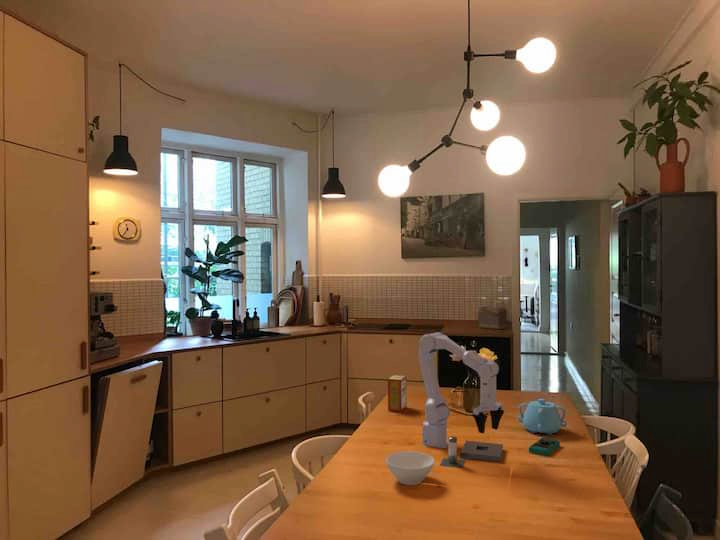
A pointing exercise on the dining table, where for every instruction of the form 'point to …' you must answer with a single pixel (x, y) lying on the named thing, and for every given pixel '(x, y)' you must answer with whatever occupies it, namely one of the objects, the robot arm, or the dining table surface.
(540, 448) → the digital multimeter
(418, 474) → the bowl
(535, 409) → the decorative pot
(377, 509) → the dining table surface
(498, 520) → the dining table surface
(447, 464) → the key mat
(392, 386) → the baking soda box
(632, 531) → the dining table surface
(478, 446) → the chuck block
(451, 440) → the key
